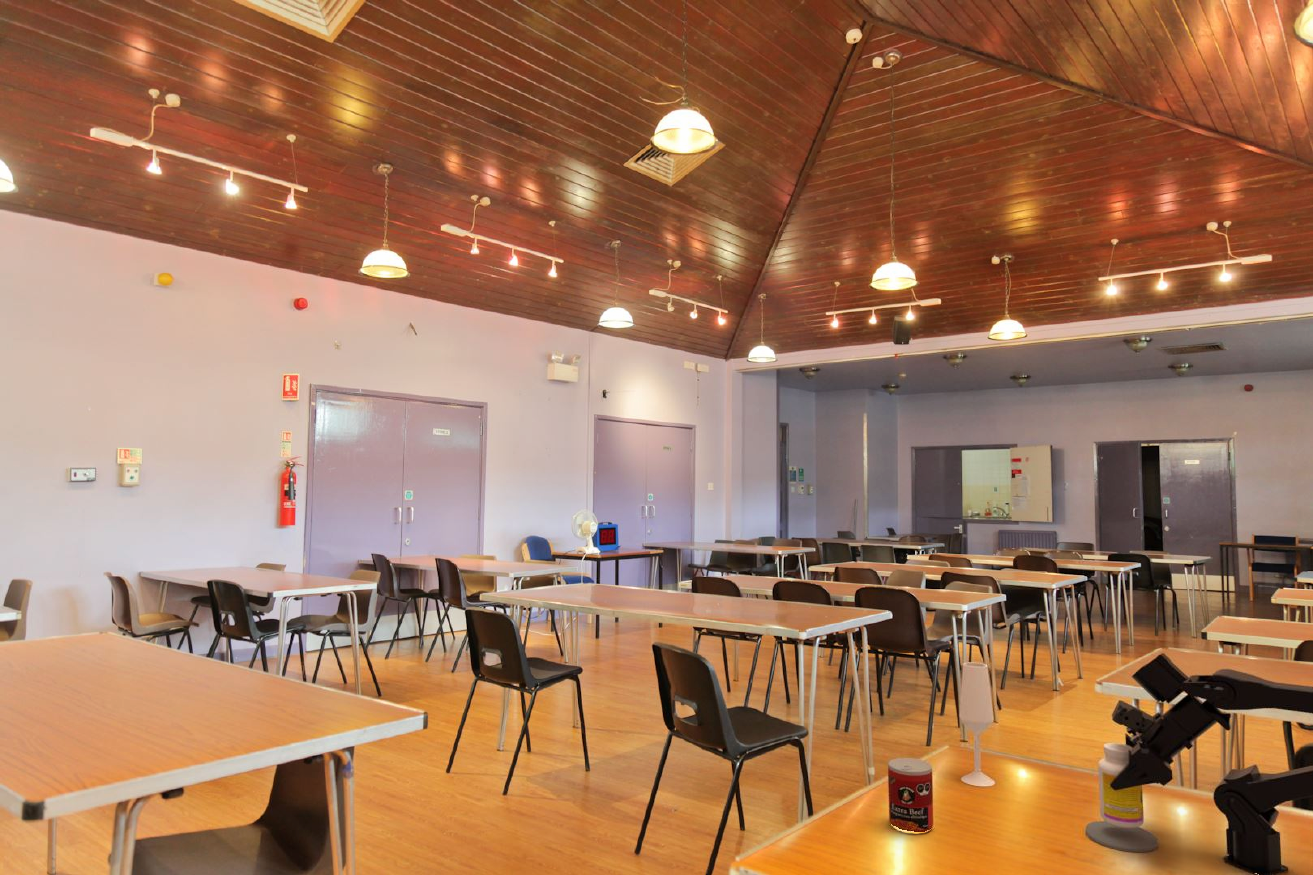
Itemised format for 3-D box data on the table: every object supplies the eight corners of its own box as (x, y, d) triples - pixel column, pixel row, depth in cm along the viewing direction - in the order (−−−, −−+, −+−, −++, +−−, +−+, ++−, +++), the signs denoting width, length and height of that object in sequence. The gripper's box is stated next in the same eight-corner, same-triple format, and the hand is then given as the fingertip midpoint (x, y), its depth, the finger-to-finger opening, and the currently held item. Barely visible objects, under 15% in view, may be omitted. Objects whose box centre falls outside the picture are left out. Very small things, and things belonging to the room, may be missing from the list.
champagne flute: (971, 772, 177) (968, 659, 178) (1001, 781, 172) (998, 665, 173) (954, 779, 173) (952, 664, 174) (984, 788, 167) (981, 669, 169)
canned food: (884, 830, 147) (883, 767, 148) (894, 814, 154) (893, 754, 155) (929, 838, 144) (927, 774, 144) (936, 822, 151) (935, 761, 152)
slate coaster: (1173, 846, 141) (1172, 841, 141) (1126, 856, 137) (1126, 851, 137) (1116, 821, 151) (1116, 817, 151) (1071, 830, 147) (1071, 826, 147)
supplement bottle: (1150, 830, 140) (1146, 754, 141) (1107, 828, 141) (1104, 752, 142) (1135, 814, 147) (1132, 741, 147) (1095, 812, 148) (1092, 739, 148)
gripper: (1137, 677, 152) (1073, 730, 156) (1144, 699, 135) (1073, 759, 140) (1190, 725, 148) (1123, 779, 152) (1204, 755, 131) (1129, 814, 135)
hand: (1111, 781), depth 145 cm, fingers closed on supplement bottle, 6 cm apart
